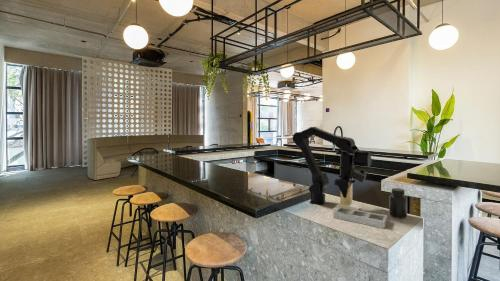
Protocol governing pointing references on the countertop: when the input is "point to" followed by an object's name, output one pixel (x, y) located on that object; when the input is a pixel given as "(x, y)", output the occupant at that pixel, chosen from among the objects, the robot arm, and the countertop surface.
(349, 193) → the brass peg
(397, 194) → the supplement bottle
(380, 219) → the grey slotted tray
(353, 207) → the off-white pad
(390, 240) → the countertop surface
